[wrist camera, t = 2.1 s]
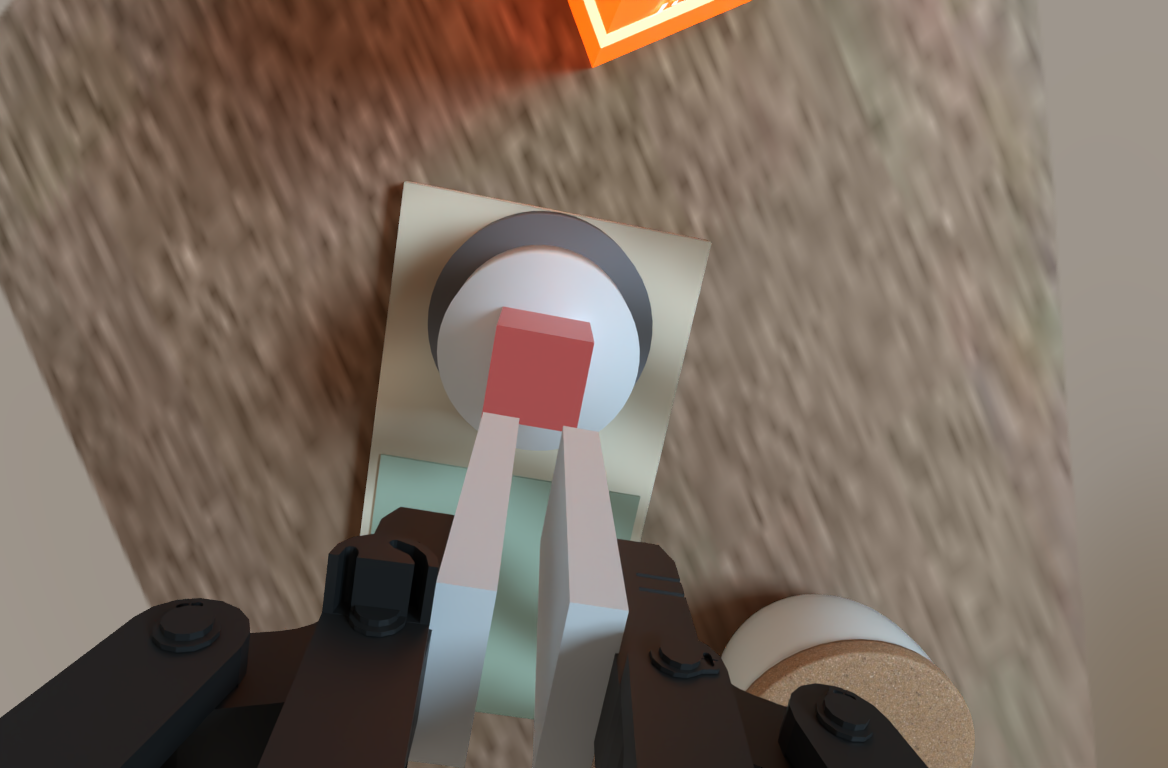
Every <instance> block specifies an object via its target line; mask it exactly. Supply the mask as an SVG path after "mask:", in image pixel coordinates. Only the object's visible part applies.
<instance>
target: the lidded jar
mask: <svg viewBox="0 0 1168 768" xmlns="http://www.w3.org/2000/svg"><path fill="white" fill-rule="evenodd" d="M721 659H722V661H723V662H724V664H725V666H726V668H727V670H728V673H729V677H730V681H731V684H733V685H734V686H736V687H738V688H739V689H741V690H744V691H746V692H748V693H750V694H753V695H755V696H758V697H761V698H763V699H766V700H769V701H772V702H774V703H777V704H780V705H783V706H785V707H787V705H788V702H789V699H790V696H791V693H792V692H794V691H795V690H796V689H797V688H798V687H800V686H802V685H808V684H814V683H818V684H824V685H831V686H836V687H839V688H843V689H844V690H848V691H850V692H853V693H855V694H857V695H858V696H859V697H861V698H863V699H864V700H866V701H867V702H869V703H871V704H872V705H874V706H875V707H876V708H877V709H878V710H879V711H880V712H881V713H882V714H883V715H884V716H885V717H887V718H888V719H889V721H890V722H891V723H892V724H893V725H894V727H895V728H896V729H897V730H898V731H899V733H900V734H901V735H902V736H903V737H904V739H905V740H906V741H907V742H908V744H909V745H910V746H911V747H912V748H913V750H914V751H915V752H916V753H917V754H918V756H919V757H920V758H921V759H922V760H923V762H924V763H925V764H926V765H927V767H928V768H971V764H972V761H973V754H974V747H975V735H974V725H973V721H972V717H971V714H970V711H969V709H968V707H967V705H966V702H965V700H964V698H963V697H962V695H961V694H960V693H959V691H958V690H957V689H956V687H955V686H954V685H953V683H952V682H951V681H950V679H949V678H948V677H947V676H946V674H945V673H944V672H943V671H941V670H940V669H939V668H938V667H937V666H936V665H935V664H934V663H933V662H932V661H931V659H930V658H929V657H928V656H927V654H926V653H925V652H924V651H923V650H922V648H921V647H920V646H919V645H918V644H917V643H916V642H915V641H914V640H913V639H912V638H911V637H910V636H908V635H907V634H906V633H905V632H904V631H903V630H902V629H901V628H900V627H898V626H897V625H896V624H895V623H894V622H892V621H891V620H889V619H888V618H887V617H885V616H884V615H882V614H880V613H879V612H877V611H876V610H874V609H872V608H870V607H868V606H865V605H863V604H861V603H858V602H856V601H853V600H851V599H848V598H844V597H839V596H835V595H824V594H804V595H797V596H792V597H788V598H785V599H782V600H779V601H776V602H774V603H772V604H770V605H768V606H766V607H764V608H762V609H760V610H759V611H758V612H756V613H755V614H753V615H752V616H751V617H749V618H748V619H747V620H746V621H745V622H744V623H743V624H742V625H741V626H740V627H739V628H738V630H737V631H736V632H735V633H734V635H733V636H732V638H731V639H730V641H729V642H728V644H727V646H726V647H725V649H724V651H723V654H722V656H721Z"/></svg>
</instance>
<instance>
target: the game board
mask: <svg viewBox="0 0 1168 768" xmlns="http://www.w3.org/2000/svg"><path fill="white" fill-rule="evenodd" d="M711 243H712V242H710V241H708V240H704V239H699V238H694V237H689V236H684V235H679V234H674V233H669V232H664V231H659V230H654V229H648V228H643V227H638V226H633V225H628V224H623V223H618V222H613V221H608V220H603V219H598V218H593V217H588V216H583V215H578V214H572V213H567V212H562V211H557V210H552V209H547V208H542V207H537V206H532V205H527V204H522V203H517V202H512V201H507V200H502V199H496V198H491V197H486V196H481V195H476V194H471V193H466V192H461V191H456V190H451V189H446V188H441V187H436V186H431V185H426V184H420V183H415V182H410V181H407V182H404V188H403V196H402V204H401V212H400V220H399V228H398V236H397V244H396V252H395V260H394V268H393V276H392V284H391V292H390V300H389V308H388V316H387V324H386V332H385V340H384V348H383V356H382V364H381V372H380V380H379V388H378V396H377V404H376V412H375V420H374V428H373V436H372V444H371V452H370V460H369V468H368V476H367V484H366V492H365V500H364V508H363V516H362V524H361V532H360V536H362V535H368V534H374V533H375V531H376V529H377V527H378V525H379V522H380V520H381V519H382V518H383V517H385V516H386V515H388V514H389V513H391V512H393V511H394V510H396V509H397V508H399V507H406V508H413V509H419V510H425V511H432V512H438V513H444V514H451V515H455V512H456V509H457V505H458V502H459V498H460V494H461V491H462V487H463V483H464V480H465V476H466V473H467V469H468V465H469V462H470V458H471V455H472V451H473V447H474V444H475V440H476V437H477V433H478V431H477V430H476V429H475V428H473V427H472V426H471V425H470V424H469V423H468V422H467V421H466V420H465V419H464V418H463V417H462V416H461V415H460V414H459V412H458V411H457V410H456V408H455V407H454V405H453V404H452V402H451V401H450V399H449V397H448V395H447V393H446V391H445V389H444V386H443V383H442V380H441V378H440V373H439V368H438V360H437V344H438V336H439V331H440V326H441V323H442V321H443V318H444V315H445V313H446V311H447V309H448V307H449V305H450V303H451V301H452V300H453V299H454V297H455V296H456V294H457V293H458V292H459V290H460V289H461V288H462V286H463V285H464V283H465V282H466V281H467V279H468V278H469V277H470V276H471V275H472V274H473V273H474V271H475V270H476V269H477V268H479V267H480V266H481V265H482V264H484V263H485V262H486V261H488V260H489V259H491V258H493V257H494V256H496V255H498V254H500V253H503V252H505V251H507V250H510V249H514V248H518V247H522V246H529V245H549V246H557V247H561V248H564V249H568V250H571V251H573V252H576V253H578V254H581V255H582V256H584V257H586V258H588V259H589V260H591V261H592V262H594V263H595V264H596V265H598V266H599V267H600V268H601V269H602V270H603V271H604V272H605V273H606V274H607V275H608V276H609V277H610V278H611V279H612V281H613V282H614V283H615V285H616V286H617V288H618V290H619V291H620V293H621V295H622V297H623V299H624V301H625V302H626V304H627V306H628V308H629V310H630V312H631V315H632V317H633V320H634V322H635V326H636V329H637V333H638V339H639V347H640V357H639V367H638V374H637V377H636V381H635V384H634V387H633V389H632V392H631V394H630V396H629V398H628V400H627V401H626V403H625V405H624V406H623V408H622V409H621V411H620V412H619V413H618V414H617V416H616V417H615V418H614V419H613V420H612V421H611V422H610V423H609V424H608V425H607V426H606V427H604V428H603V429H602V430H600V431H599V437H600V443H601V449H602V455H603V461H604V467H605V473H606V478H607V484H608V490H609V496H610V502H611V508H612V514H613V520H614V526H615V532H616V538H617V539H623V540H629V541H636V542H640V539H641V535H642V531H643V527H644V523H645V518H646V514H647V510H648V506H649V502H650V497H651V493H652V489H653V485H654V481H655V477H656V472H657V468H658V464H659V460H660V456H661V451H662V447H663V443H664V439H665V435H666V431H667V426H668V422H669V418H670V414H671V410H672V406H673V401H674V397H675V393H676V389H677V385H678V380H679V376H680V372H681V368H682V364H683V360H684V355H685V351H686V347H687V343H688V339H689V334H690V330H691V326H692V322H693V318H694V314H695V309H696V305H697V301H698V297H699V293H700V289H701V284H702V280H703V276H704V272H705V268H706V263H707V259H708V255H709V251H710V247H711ZM557 454H558V449H555V450H548V451H532V450H523V449H518V448H516V449H515V457H514V464H513V472H512V480H511V487H510V495H509V503H508V511H507V518H506V526H505V534H504V541H503V549H502V557H501V565H500V572H499V580H498V588H497V594H496V600H495V605H494V610H493V616H492V621H491V627H490V632H489V637H488V643H487V648H486V654H485V659H484V665H483V670H482V675H481V681H480V686H479V692H478V697H477V702H476V708H475V712H483V713H490V714H498V715H505V716H513V717H520V718H528V719H534V711H535V681H536V651H537V621H538V591H539V561H540V540H541V535H542V530H543V525H544V519H545V514H546V509H547V504H548V499H549V494H550V489H551V484H552V479H553V474H554V469H555V464H556V459H557Z"/></svg>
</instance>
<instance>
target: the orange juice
mask: <svg viewBox="0 0 1168 768" xmlns="http://www.w3.org/2000/svg"><path fill="white" fill-rule="evenodd" d="M749 1H751V0H568V3H569V5H570V8H571V11H572V13H573V16H574V19H575V22H576V24H577V27H578V30H579V33H580V35H581V38H582V41H583V44H584V46H585V49H586V52H587V55H588V57H589V60H590V63H591V65H592V68H594V67H596V66H598V65H601V64H603V63H605V62H608V61H610V60H612V59H615V58H617V57H619V56H622V55H624V54H627V53H629V52H631V51H634V50H636V49H638V48H641V47H643V46H645V45H648V44H650V43H652V42H655V41H657V40H659V39H662V38H664V37H667V36H669V35H671V34H674V33H676V32H678V31H681V30H683V29H685V28H688V27H690V26H692V25H695V24H697V23H700V22H702V21H704V20H707V19H709V18H711V17H714V16H716V15H718V14H721V13H723V12H725V11H728V10H730V9H732V8H735V7H737V6H740V5H742V4H744V3H747V2H749Z"/></svg>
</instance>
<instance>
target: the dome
mask: <svg viewBox="0 0 1168 768" xmlns="http://www.w3.org/2000/svg"><path fill="white" fill-rule="evenodd" d="M639 357H640V347H639V339H638V333H637V329H636V326H635V322H634V320H633V317H632V315H631V312H630V310H629V308H628V306H627V304H626V302H625V301H624V299H623V297H622V295H621V293H620V291H619V290H618V288H617V286H616V285H615V283H614V282H613V281H612V279H611V278H610V277H609V276H608V275H607V274H606V273H605V272H604V271H603V270H602V269H601V268H600V267H599V266H598V265H596V264H595V263H594V262H592V261H591V260H589V259H588V258H586V257H584V256H582V255H581V254H578V253H576V252H573V251H571V250H568V249H564V248H561V247H557V246H549V245H529V246H522V247H518V248H514V249H510V250H507V251H505V252H503V253H500V254H498V255H496V256H494V257H493V258H491V259H489V260H488V261H486V262H485V263H484V264H482V265H481V266H480V267H479V268H477V269H476V270H475V271H474V273H473V274H472V275H471V276H470V277H469V278H468V279H467V281H466V282H465V283H464V285H463V286H462V288H461V289H460V290H459V292H458V293H457V294H456V296H455V297H454V299H453V300H452V301H451V303H450V305H449V307H448V309H447V311H446V313H445V315H444V318H443V321H442V323H441V326H440V331H439V336H438V344H437V360H438V368H439V373H440V378H441V380H442V383H443V386H444V389H445V391H446V393H447V395H448V397H449V399H450V401H451V402H452V404H453V405H454V407H455V408H456V410H457V411H458V412H459V414H460V415H461V416H462V417H463V418H464V419H465V420H466V421H467V422H468V423H469V424H470V425H471V426H472V427H473V428H475V429H476V430H477V431H478V429H479V426H480V422H481V418H482V415H483V412H486V413H492V414H498V415H503V416H509V417H515V418H519V426H518V433H517V441H516V448H518V449H523V450H532V451H548V450H555V449H559V444H560V439H561V434H562V429H563V426H568V427H574V428H579V429H585V430H591V431H597V432H599V431H600V430H602V429H603V428H604V427H606V426H607V425H608V424H609V423H610V422H611V421H612V420H613V419H614V418H615V417H616V416H617V414H618V413H619V412H620V411H621V409H622V408H623V406H624V405H625V403H626V401H627V400H628V398H629V396H630V394H631V392H632V389H633V387H634V384H635V381H636V377H637V374H638V367H639Z"/></svg>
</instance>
